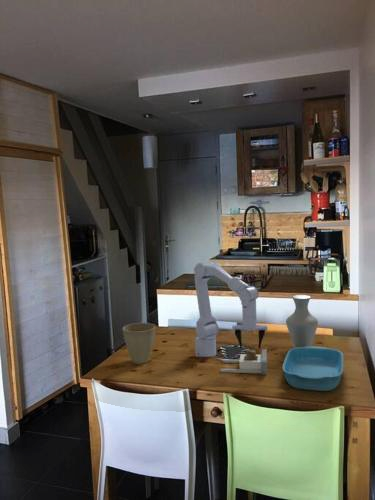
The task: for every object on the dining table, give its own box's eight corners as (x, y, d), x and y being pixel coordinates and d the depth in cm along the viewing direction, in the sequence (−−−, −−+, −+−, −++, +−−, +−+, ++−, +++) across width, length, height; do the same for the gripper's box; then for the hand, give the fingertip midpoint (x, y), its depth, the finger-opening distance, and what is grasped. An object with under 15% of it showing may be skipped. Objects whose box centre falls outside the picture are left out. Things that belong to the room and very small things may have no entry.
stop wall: (261, 375, 175) (261, 361, 174) (262, 361, 189) (261, 349, 189) (266, 375, 174) (266, 361, 174) (267, 361, 189) (266, 349, 189)
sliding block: (239, 371, 179) (239, 361, 179) (241, 363, 188) (240, 354, 188) (261, 371, 178) (261, 362, 177) (262, 363, 187) (261, 354, 186)
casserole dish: (290, 358, 194) (290, 343, 194) (343, 362, 187) (343, 346, 186) (278, 393, 160) (278, 374, 159) (343, 400, 152) (343, 380, 152)
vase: (315, 343, 213) (314, 293, 210) (321, 353, 198) (320, 299, 196) (284, 343, 214) (283, 293, 211) (288, 353, 200) (287, 300, 197)
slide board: (217, 376, 178) (217, 371, 178) (221, 362, 193) (221, 357, 193) (267, 377, 174) (267, 372, 174) (267, 363, 190) (267, 358, 189)
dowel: (246, 369, 181) (246, 353, 181) (246, 365, 185) (246, 349, 185) (256, 369, 181) (255, 353, 180) (256, 366, 185) (255, 350, 184)
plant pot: (146, 368, 190) (144, 333, 188) (118, 364, 196) (116, 330, 194) (163, 357, 203) (161, 323, 201) (135, 353, 209) (133, 321, 208)
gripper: (231, 318, 179) (232, 350, 180) (267, 318, 176) (267, 351, 177) (232, 313, 186) (233, 344, 187) (267, 314, 183) (268, 345, 184)
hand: (250, 347), depth 183 cm, fingers open, 7 cm apart
